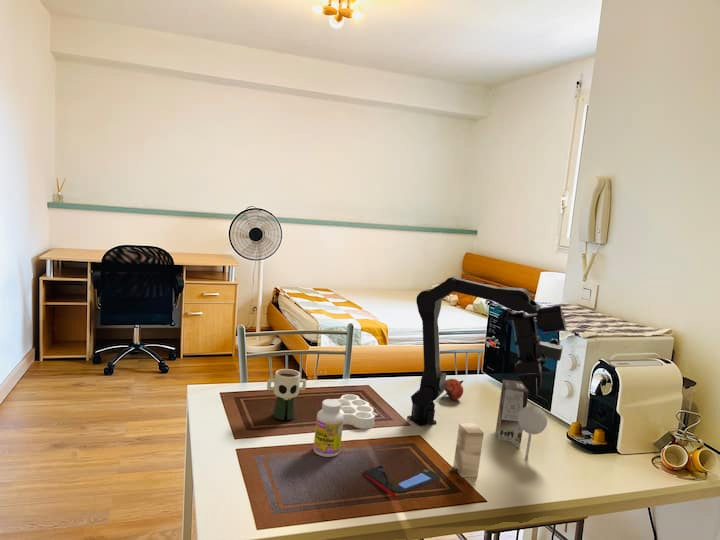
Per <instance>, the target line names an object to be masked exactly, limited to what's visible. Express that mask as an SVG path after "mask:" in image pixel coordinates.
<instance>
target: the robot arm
mask: <svg viewBox="0 0 720 540" xmlns="http://www.w3.org/2000/svg"><path fill="white" fill-rule="evenodd" d="M453 292H455V293H458V294H463V295H467V296H471V297H475V298H479V299H484V300H487V301H491V302H495V303H496V304H498V305H500V306H502V307H505V308H507V309H508V310H509V311H508V312H507V315H506V316H505V317H504V318H503V321H504V322H510V321H512V328H513V331H514V337H515V340H514V346H516V347H517V352H518V353H517V354H518V355H517V360H518V361H517V362H516V363H515V365H514V366H513V370H514V371H513V372H514V375H516V377H518V379H519V381H520V382H522V383H523V384H524V385H525V387H526V388H527V390H528V392H529V394H530V395H531V397H532V398H538V388H541V387H542V370H543V369H542V367H543V366H544V365H545V363H546V361H547V359H548V358H549V359H552V360H554V361H557V362H559V361H561V358H562V354H563V349H564V346H563V345H562V344H560V343H559V340H558V339H556V338H551V339H550V341H549V342H548V341H541V336H540V335H538V332H537V329H538V330H539V331H540V332H541V331H542V333H543V334H548V333H553V332H555V333H556V332H562V331H563V332H564V331H567V326H566V325H567V324H566V317H565V315H564V312H563V310H562V305H561V304H555V305H551V306H546V307H541V306H540V305H539V303H537V302H536V301H535V300H534V299H533V298H532V296H531V292H530V291H529V290H528V289H526V288H523V287H508V286H507V287H506V286H505V287H502V286H501V287H500V286H495V285H490V284H485V283H482V282H477V281H473V280H468V279H464V278H461V277H459V276H452V277H448V278H447V279H446V280H444V281H443V282H441V283H440V284H438V285H436V286H435V287H433V288H428V289H425V290H423V291H420V292H419V294H417V295H416V301H415V302H416V306H417V311H418V314H419V316H420V319H421V322H422V323H421V325H422V348H423V349H422V350H423V371H422V374H421V379H420V383H419V388H418V389H417V391H415V392H414V393H413V394H412V395H411V396H410V399H411V404H412V407H411V414H410V415H407V416H406V418H407V419H408V420H410V421H411V422H413V423H414V424H416V425H417V426H420V427H424V426H425V427H426V426H429V425H434V424H437V420H435V413H436V409H435V406H436V403H435V402H434V401H436V400H437V399H438V398H439V397H440V396H441V395H442V394H443V393H444V391H445V390H444V389H445V387H446V386H447V384H446V380H447V379H446V378H447V373H446V372H442V370H441V368H440V353H439V349H440V348H439V321H438V319H439V316H440V313H441V310H442V303H443V299H445V298H447V297H448V296H449V295H451V294H452V293H453ZM535 319H536V320H535ZM536 325H537V327H536Z"/></svg>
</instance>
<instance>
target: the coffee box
mask: <svg viewBox="0 0 720 540" xmlns="http://www.w3.org/2000/svg"><path fill="white" fill-rule="evenodd" d="M500 391H501V392H500V398H499V404H498V405H499V406H498V412H497V420H496V427H495V434H496V435H497V439H498V440H500V441H506V442H509V443H510V444H511V445H512V446H513V447H515V448H521V443H522V436H523V432H524V430H523V429H522V428H521V427H520V425H519V422H518V416H519V413H520V411H521V410H522V409H523V408H524V407H527V406H528V398H529V394H530V393H529V391H528V390H527V388H526V387H525V385H524V384H523V383H522V381H520V380H519V381H517V380H513V379H512V380H509V379H502V384H501V390H500Z"/></svg>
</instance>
